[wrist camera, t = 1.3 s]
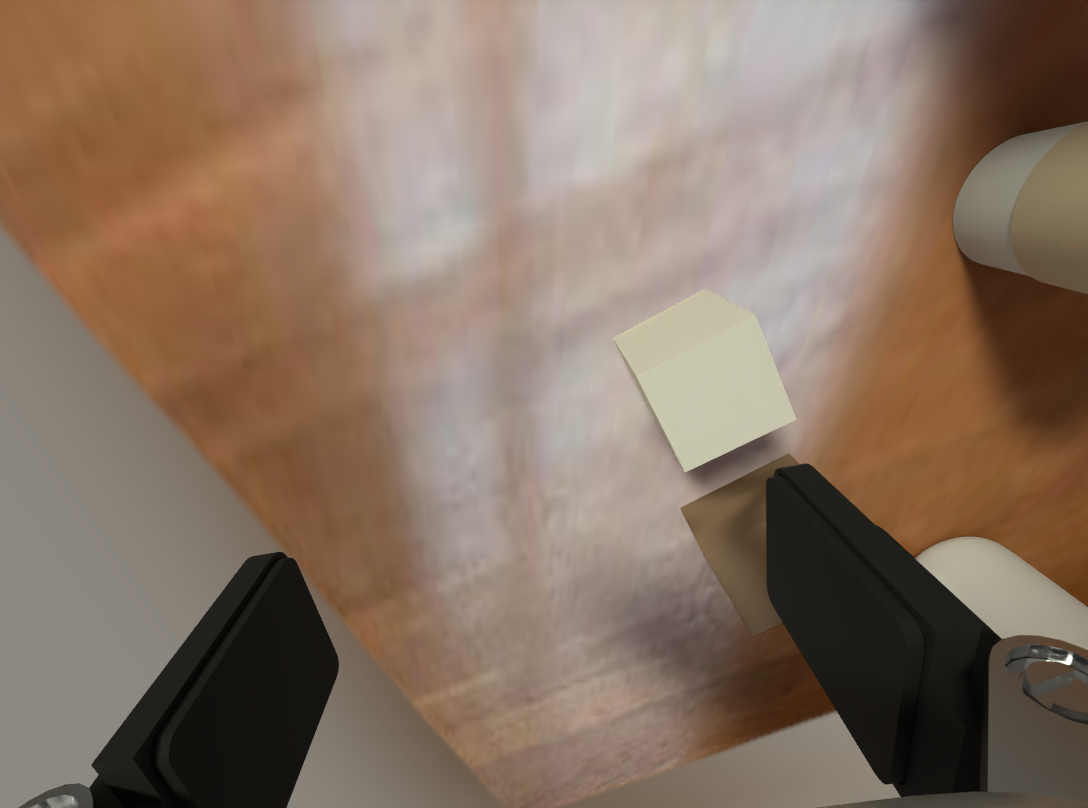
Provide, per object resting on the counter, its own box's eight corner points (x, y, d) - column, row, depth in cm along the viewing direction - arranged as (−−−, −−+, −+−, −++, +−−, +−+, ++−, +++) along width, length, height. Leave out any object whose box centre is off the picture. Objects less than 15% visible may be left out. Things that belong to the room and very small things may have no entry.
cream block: (705, 288, 30) (755, 314, 23) (740, 373, 32) (796, 419, 25) (612, 337, 31) (636, 376, 24) (653, 417, 33) (685, 472, 26)
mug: (898, 504, 36) (1040, 622, 26) (1031, 550, 38) (1210, 675, 28) (831, 595, 39) (936, 732, 29) (957, 633, 41) (1097, 774, 31)
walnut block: (787, 451, 34) (828, 492, 30) (825, 535, 37) (869, 584, 32) (679, 506, 36) (702, 553, 31) (724, 583, 38) (752, 636, 34)
